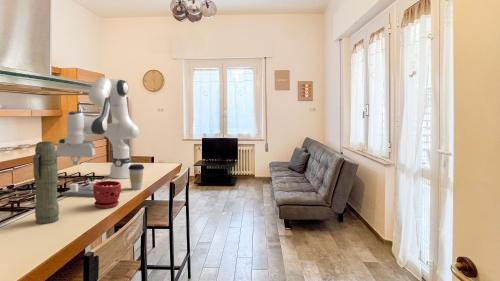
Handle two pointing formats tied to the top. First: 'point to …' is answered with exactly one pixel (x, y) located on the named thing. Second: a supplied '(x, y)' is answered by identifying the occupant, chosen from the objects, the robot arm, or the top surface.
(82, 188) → the breaker panel
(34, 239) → the top surface
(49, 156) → the thermos
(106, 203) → the plant pot
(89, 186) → the middle lever
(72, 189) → the lever
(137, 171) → the coffee cup
